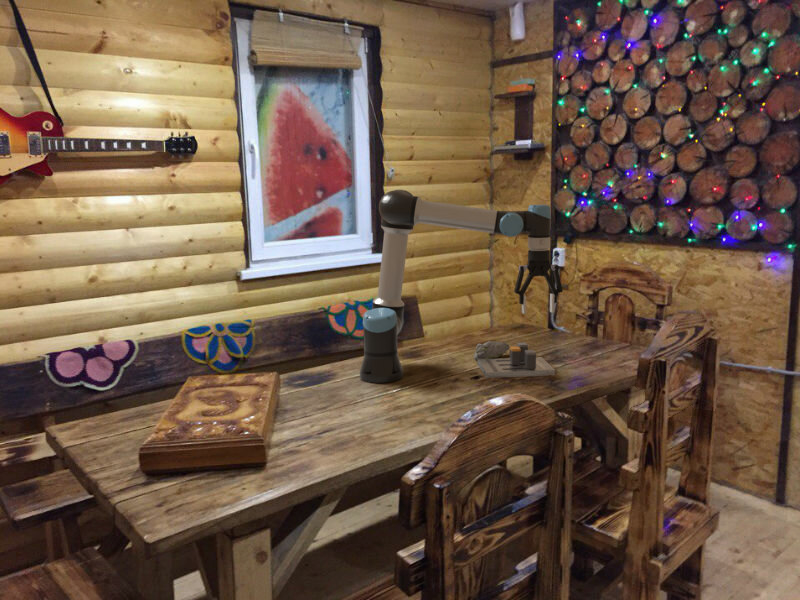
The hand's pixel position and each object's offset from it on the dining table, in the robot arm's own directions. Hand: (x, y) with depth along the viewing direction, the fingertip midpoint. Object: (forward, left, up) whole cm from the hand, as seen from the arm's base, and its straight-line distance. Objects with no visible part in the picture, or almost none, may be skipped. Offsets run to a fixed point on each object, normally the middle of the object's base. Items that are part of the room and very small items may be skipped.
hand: (537, 312), depth 230 cm
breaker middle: (-8, 0, -18) cm, 20 cm away
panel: (-8, 0, -21) cm, 22 cm away
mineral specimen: (-14, +17, -21) cm, 30 cm away
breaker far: (-4, +5, -18) cm, 19 cm away
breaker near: (-4, -6, -18) cm, 20 cm away
